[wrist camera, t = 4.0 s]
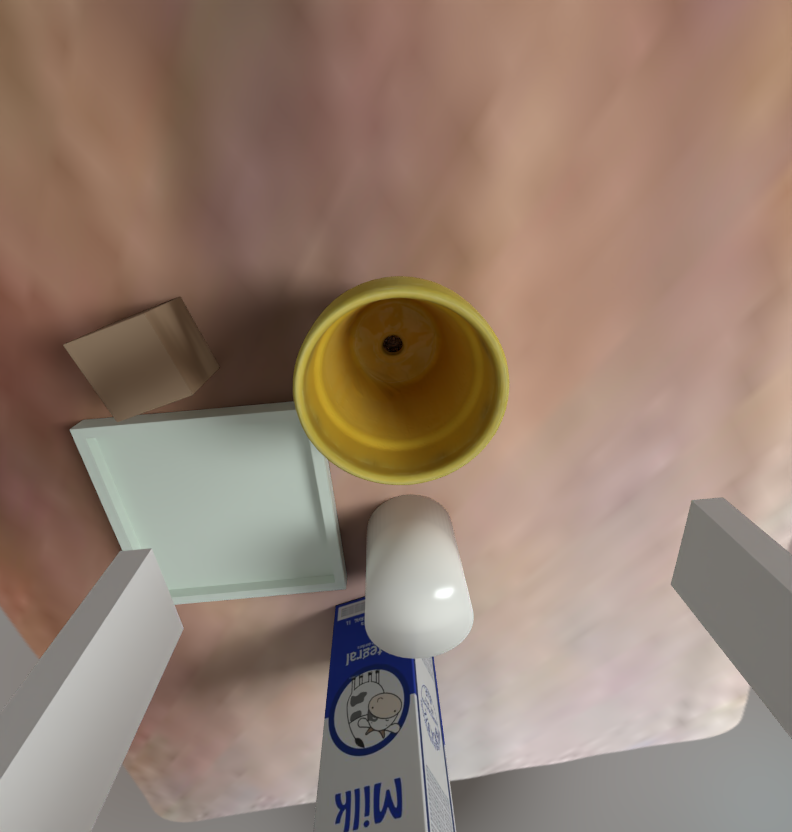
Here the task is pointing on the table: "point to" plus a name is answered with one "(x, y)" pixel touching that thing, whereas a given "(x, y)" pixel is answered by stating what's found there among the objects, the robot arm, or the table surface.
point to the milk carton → (380, 739)
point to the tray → (219, 499)
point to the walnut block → (145, 359)
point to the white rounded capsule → (415, 580)
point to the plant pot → (400, 382)
